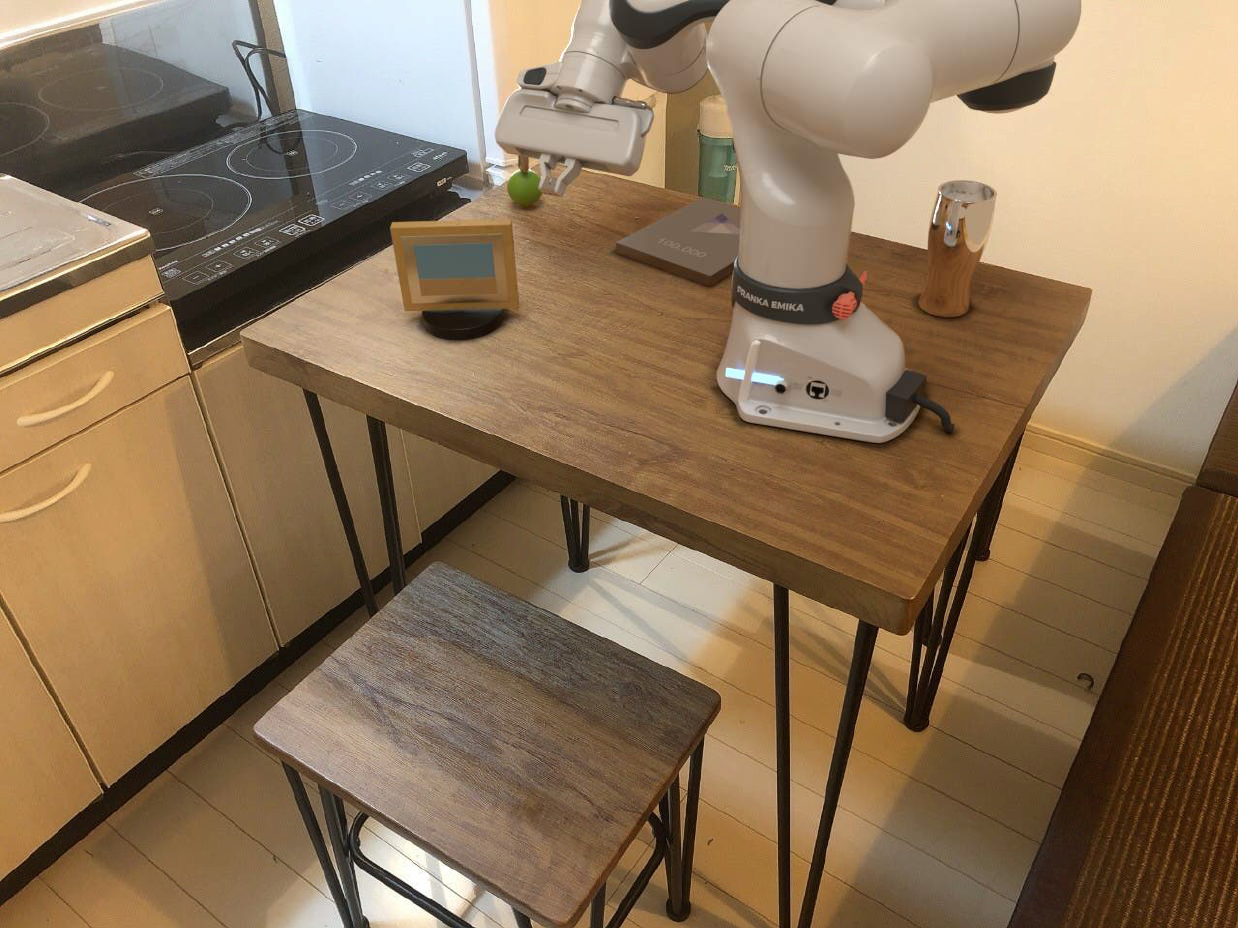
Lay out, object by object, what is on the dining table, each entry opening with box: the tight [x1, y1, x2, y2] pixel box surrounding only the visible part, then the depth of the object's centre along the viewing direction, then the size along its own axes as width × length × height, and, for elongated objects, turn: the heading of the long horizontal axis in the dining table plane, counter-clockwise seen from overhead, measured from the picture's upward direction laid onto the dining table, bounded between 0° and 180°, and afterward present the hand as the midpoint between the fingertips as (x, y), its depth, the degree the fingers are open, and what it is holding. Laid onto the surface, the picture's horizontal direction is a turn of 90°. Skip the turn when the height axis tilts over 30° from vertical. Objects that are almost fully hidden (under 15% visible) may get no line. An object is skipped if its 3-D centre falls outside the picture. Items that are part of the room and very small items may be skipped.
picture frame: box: [389, 218, 520, 312], centre depth 116 cm, size 14×2×11 cm, turn 91°
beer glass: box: [917, 179, 998, 318], centre depth 117 cm, size 7×7×15 cm
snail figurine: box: [506, 155, 543, 207], centre depth 144 cm, size 5×6×12 cm
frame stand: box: [421, 309, 505, 341], centre depth 120 cm, size 10×10×2 cm
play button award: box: [615, 196, 741, 287], centre depth 136 cm, size 16×2×20 cm
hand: (550, 193), depth 123 cm, fingers closed
